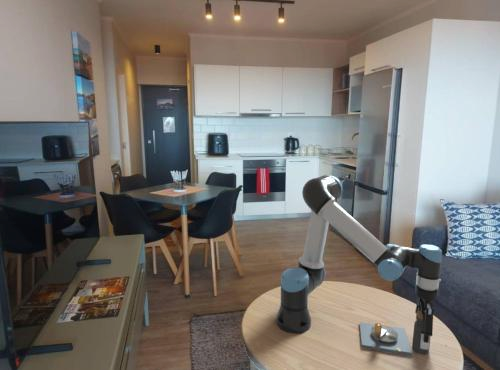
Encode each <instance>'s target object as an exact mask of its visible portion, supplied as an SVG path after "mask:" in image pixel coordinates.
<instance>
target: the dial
mask: <svg viewBox="0 0 500 370" xmlns="http://www.w3.org/2000/svg"><path fill="white" fill-rule="evenodd" d="M374 324H375V326H373V327H372V328H371V335H372V337H373V338H374V339H376V340H378V341H380V342H383V343H389V344H390V343H395V342H396V341H397V339H398V334H397V332H396V331H395V330H394V329H392V328H390V327H388V326H389V325H385V326H384V324H381V323H378V322H376V323H374Z"/></svg>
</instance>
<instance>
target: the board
mask: <svg viewBox="0 0 500 370" xmlns="http://www.w3.org/2000/svg"><path fill="white" fill-rule="evenodd" d="M383 325H384V324H383ZM373 326H375V323H370V322H363V321H359V334H360V335H359V336H360V343H361V344H360V346H361V349H364V350H371V351H375V352H376V351H377V352H383V353H388V354H393V355H394V354H395V355H400V356H407V357H413V352H412V346H411V344H410V341H409V338H408V336H407V332H406V328H404V327H397V326H390V325H387V326H388V327H390V328H392V329H394V330H395V331H396V332H397V334H398V339H397V341H396V342H395V343H390V344H389V343H383V342H380V341H378V340H376V339H374V338H373V337H372V335H371V328H372V327H373ZM384 326H386V325H384Z"/></svg>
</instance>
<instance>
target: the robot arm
mask: <svg viewBox="0 0 500 370" xmlns="http://www.w3.org/2000/svg"><path fill="white" fill-rule="evenodd" d="M343 190H344V189H343V184H342V182H341V181H340V180H339V179H338V178H337V177H336V176H334V175H330V174H329V175H327V174H325V175H321V176H319V177H315V178H311V179H309V180H307V181H306V182H305V184H304V185H303V187H302V194H301V195H302V198H303V201H304V203H305V204H306V206H307V207H308V208H309V209H310V216H309V221H308V227H307V232H306V238H305V244H304V248H303V254H302V256H300V257H299V259H298V263H297V267H292V268H286V269H285V270H284V271H283V272H282V274H281V277H280V305H279V307H278V312H277V314H276V318H275V319H276V320H275V322H276V326H278V328H280V329H281V330H283V331H284V332H287V333H292V334H300V333H304V332H306V331H308V330H309V329H310V328H311V326H312V319H311V314H310V312H309V308H308V304H309V303H308V302H309V299H308V298H309V295H310V294H311V293H312V292H313V291H315V290H316V289H317V288H318V287H319V286H321V285H322V283H323V282H324V281H325V278H326V269H325V263H324V261H323V255H324V250H325V245H326V240H327V235H328V230H329V225H331V226H332V227H333V228H335V230H337V231H338V232H339V233H340V234H341V235H342V236H343V237H344V238H345V239H347V241H349V242H350V244H352V245H353V246H354V247H355V248H356V249H357V250H358V251H359V252H361V254H363V256H365V257H366V258H367V259H369V261H371V262H372V263H373V264H374V266H376V267H377V272H378V275H379V277H380V278H382V279H383V280H385V281H387V282H394V281H396V280H398V279H399V278H400V277H401V276H403V274H404V271H405V269H406V268H408V269H409V268H410V269H415V270H416V271H417V272H416V278H415V290H414V293H415V295H416V296H417V300H416V306H415V312H414V313H415V314H416V315H415V317H416V316H417V312H418V311H420V310H421V313H422V315H423V332H421V343H420V348H421V349H426V350H429V351H430V346H429V341H430V342H431V337H433V329H434V326H433V325H434V313H435V309H434V308H433V302H432V301H436V300H437V299H438V297H439V288H440V287H439V285H440V283H441V282H442V279H441V271H442V270H441V269H442V264H443V260H442V258H443V251H442V249H441V248H440V247H439V246H437V245H434V244H426V243H425V244H424V243H423V244H420V246H419V248H414V247H413V248H412V247H409V246H404V245H399V244H395V243H394V244H392V243H387V244H386V245H384V244H383V243H382V242H381V240H379V239H378V238H376V237H375V235H374V234H372V233H371V232H370V231H369V230H368V229H366V228H365V227H364V226H363V224H361V223H360V222H359V221H358V220H356V219H355V218H354V217H353V216H352V215H350V213H348V212H347V210H345V209H344V208H343V207H341V206H340V205H339V204H338V199H340V198H341V197H342V194H343ZM423 311H425V312H423ZM415 319H416V318H415ZM415 321H417V319H416V320H415ZM430 336H431V337H430Z"/></svg>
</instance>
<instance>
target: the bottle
mask: <svg viewBox="0 0 500 370" xmlns="http://www.w3.org/2000/svg"><path fill="white" fill-rule="evenodd" d="M423 312H425V311H423ZM415 319H417V321H416V320H415V321H414V325H413V326H414V327H413V334H412V342H411V343H412V345H411V349H412V350H413V351H414V352H415V353H417V354H421V355H427V354H429V353H430V349H429V350H426V349H421V348H420V343H421V332H423V315H422V313H421V310H420V311H418V312H417V316H416V315H415ZM431 337H432V336H430V338H431ZM430 345H431V340H430V341H429V347H430Z"/></svg>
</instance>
